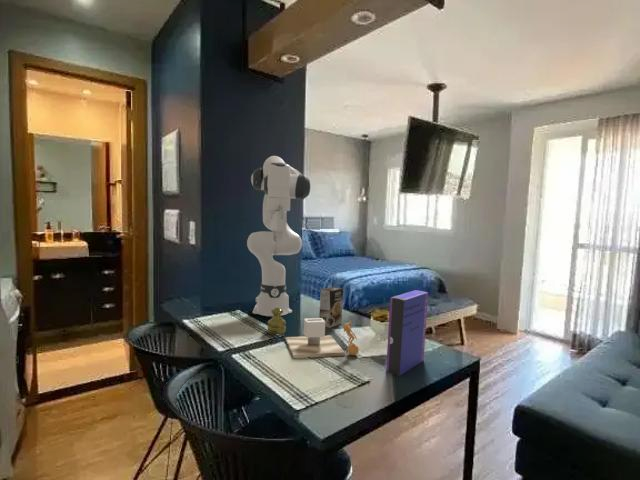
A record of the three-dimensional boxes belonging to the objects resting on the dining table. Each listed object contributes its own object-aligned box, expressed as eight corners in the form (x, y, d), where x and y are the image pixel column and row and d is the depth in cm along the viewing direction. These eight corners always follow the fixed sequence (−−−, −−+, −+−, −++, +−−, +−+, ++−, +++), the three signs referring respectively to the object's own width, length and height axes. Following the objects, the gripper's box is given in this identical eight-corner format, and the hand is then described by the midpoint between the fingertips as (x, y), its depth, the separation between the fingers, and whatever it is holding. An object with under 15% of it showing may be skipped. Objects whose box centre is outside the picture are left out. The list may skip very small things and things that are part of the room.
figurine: (363, 358, 131) (365, 324, 130) (348, 360, 129) (350, 325, 128) (351, 350, 139) (353, 317, 138) (337, 352, 136) (338, 319, 135)
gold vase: (282, 336, 151) (283, 311, 150) (264, 334, 152) (265, 309, 152) (287, 330, 158) (288, 306, 157) (270, 328, 160) (271, 305, 159)
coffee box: (330, 328, 164) (332, 291, 162) (318, 325, 167) (320, 288, 166) (342, 323, 171) (344, 288, 170) (330, 320, 175) (332, 285, 173)
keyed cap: (321, 332, 142) (322, 317, 142) (324, 336, 138) (325, 321, 137) (303, 333, 141) (304, 318, 140) (306, 337, 136) (306, 321, 136)
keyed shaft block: (285, 340, 146) (286, 316, 145) (330, 338, 150) (331, 315, 150) (293, 358, 129) (294, 331, 128) (344, 355, 133) (346, 329, 132)
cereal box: (410, 356, 135) (415, 289, 133) (423, 360, 132) (428, 291, 130) (386, 371, 121) (390, 296, 119) (399, 376, 118) (404, 299, 116)
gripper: (291, 206, 135) (290, 245, 136) (282, 206, 155) (281, 240, 156) (273, 205, 133) (272, 244, 134) (267, 205, 153) (266, 240, 154)
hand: (277, 242), depth 145 cm, fingers open, 8 cm apart
